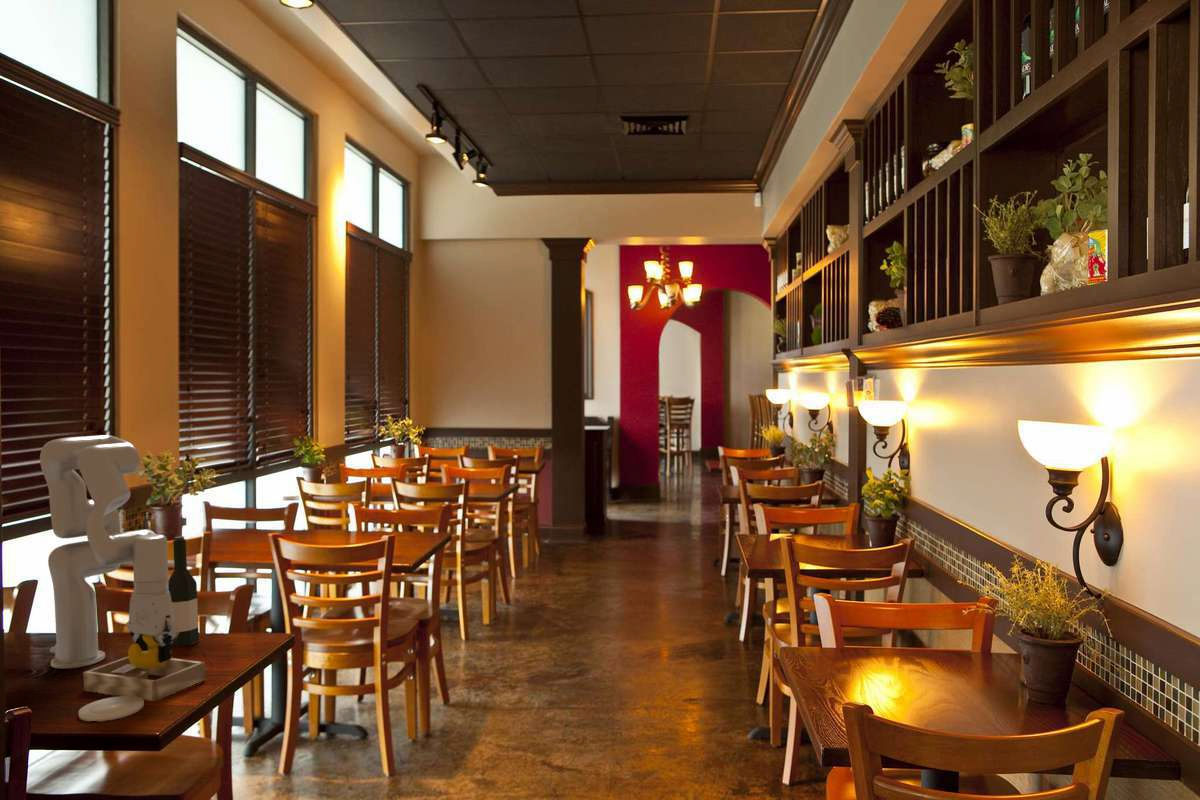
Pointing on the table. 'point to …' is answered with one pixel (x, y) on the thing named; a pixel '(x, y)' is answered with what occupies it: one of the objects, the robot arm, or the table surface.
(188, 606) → the wine bottle
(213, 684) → the table surface
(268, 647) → the table surface
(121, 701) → the plate
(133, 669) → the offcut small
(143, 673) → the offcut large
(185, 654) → the table surface
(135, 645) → the duckling
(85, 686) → the tray
